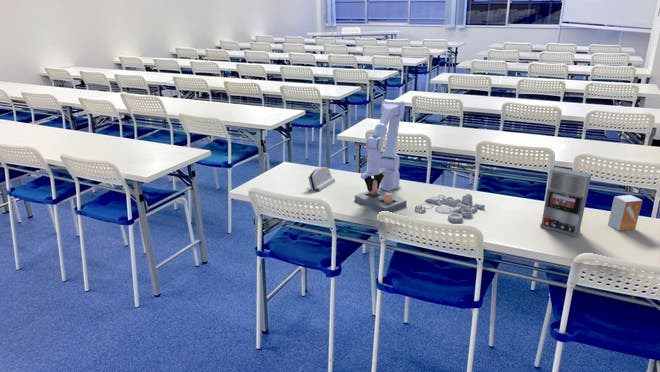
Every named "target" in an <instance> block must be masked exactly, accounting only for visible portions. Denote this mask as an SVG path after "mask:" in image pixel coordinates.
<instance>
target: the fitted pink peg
mask: <svg viewBox="0 0 660 372" xmlns="http://www.w3.org/2000/svg"><path fill="white" fill-rule="evenodd" d="M393 195H394V194H393V192H386V193H384V203H385V204H388V205H389V204H392V202H393Z"/></svg>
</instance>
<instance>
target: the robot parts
mask: <svg viewBox="0 0 660 372" xmlns="http://www.w3.org/2000/svg"><path fill="white" fill-rule="evenodd" d="M424 201H425V202H426V203H421V204H420V205H416V206H415V207H414V211H415V212H416V213H421V214H422V213H425V212H426V210H429V209H433V208H434V205H433V204H435V205H437V206H436V207H435V208H434V211H435V212H436V213H439V214H444V215H446V214H447V219H448V221H450V222H453V223H461V222H462V221H463V218H472V216H473V213H474V212H475V211H476V212H477V211H478V209H479V208H480V210H484V209H485V204H479V203H474V204H473V195H472V194H471V193H467V194H464V195H463V196H462V197H461V199H460V198H455V199H454V198H453V197H451V196H447V197H446V195H443V194H439V195H437V196H432V197H430V198H426V199H424ZM428 202H429V203H428ZM431 203H432V204H431ZM442 204H444V205H447V206H443V205H442ZM423 205H430V206H431V207H425V206H423ZM472 205H473V206H472ZM449 206H456V207H454V208H451V207H449ZM471 206H472V208H471ZM483 208H484V209H483ZM474 214H475V213H474Z"/></svg>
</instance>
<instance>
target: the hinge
mask: <svg viewBox="0 0 660 372" xmlns="http://www.w3.org/2000/svg"><path fill="white" fill-rule="evenodd" d="M307 179H308V182H309V183H308V184H309V186H310V190H312V191H313V190H318V191H319V192H322V191H323V190H324V189H326V188H328V187H329V186H331V185H332V184H334V183H336V179H335V178H334V177H333V176H332V174H331V171H330V169H329V168H328V167H324V166H323V167H319V168H316V169H314V170H312V171H311V173H310V174H309V175H308V178H307Z"/></svg>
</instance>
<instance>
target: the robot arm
mask: <svg viewBox="0 0 660 372" xmlns="http://www.w3.org/2000/svg"><path fill="white" fill-rule="evenodd" d="M405 108H406V104H405V102H404V100H394V99H393V100H392V99H384V100H383V101H382V104H381V111H382V114H381V117H380V120H379V123H377V124H376V125H375V126H374V128H373V131H372V133H371V135H370V137H367V139H366V141H365V142H366V143H365V147H366V153H367V169H366V171H365V172H363V173H361V174H360V179H362V180H364V183H365V185H366V189H367V191H370V192H371V191H372V185H373V181H374V180H377V189H379V190H382V191H383V190H384V191H386V192H390V191H392V190H395V189H398V188H400V187H401V185H400V180H401V179H400V171H399V169H400V158H401V157H400V156H399V155H398V153H396V146H397V140H398V133H399V127H400V121H401V119H403V118H404V115H405V110H406V109H405ZM387 127H388V128H387ZM386 134H387V137H386V143H385V148H384V151H383V152H381V150H382V149H383V146H384V141H385V140H384V138H385V136H386Z"/></svg>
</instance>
